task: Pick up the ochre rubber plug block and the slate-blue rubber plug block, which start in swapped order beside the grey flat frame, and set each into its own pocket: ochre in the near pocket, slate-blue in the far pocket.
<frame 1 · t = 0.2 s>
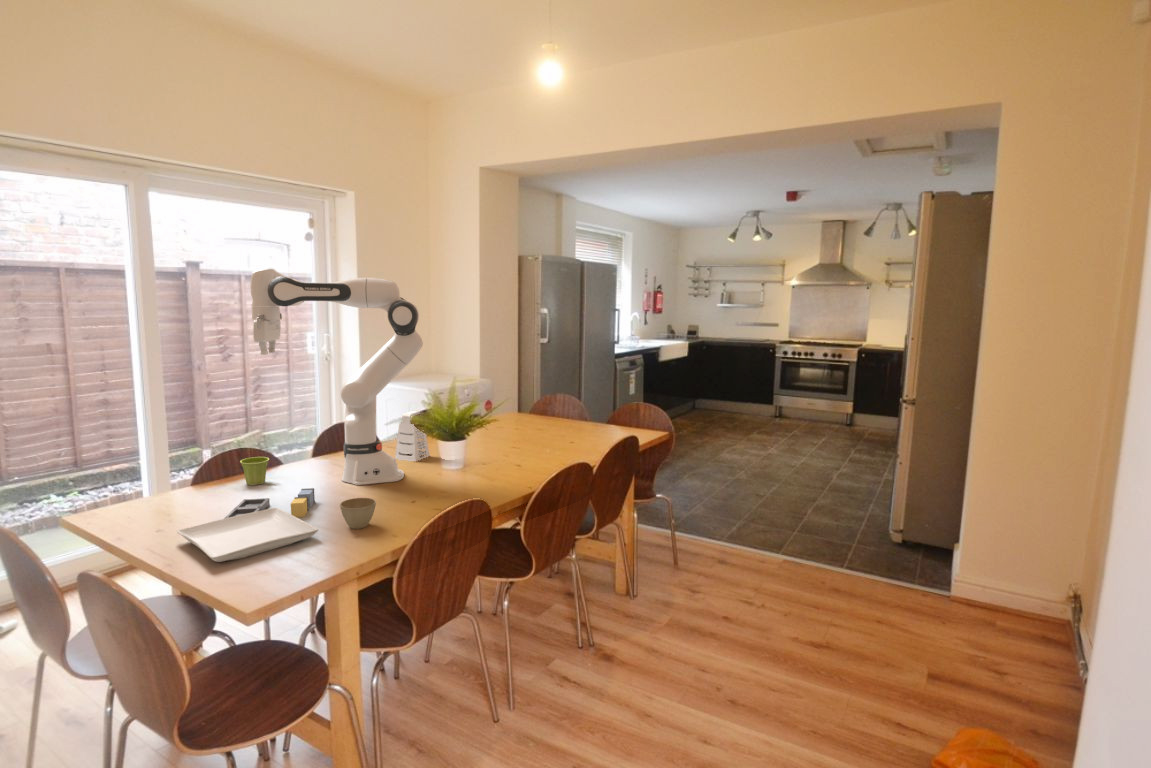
hand: (268, 353, 215), 48 cm above the table, fingers open, 8 cm apart
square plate: (248, 542, 166), on the table, touching grey flat frame
flower pot: (358, 526, 179), on the table
plant pot: (256, 483, 220), on the table
grey flat frame: (248, 514, 187), on the table
plug slate: (306, 504, 197), on the table
plug ochre: (299, 514, 188), on the table
grater: (412, 458, 260), on the table
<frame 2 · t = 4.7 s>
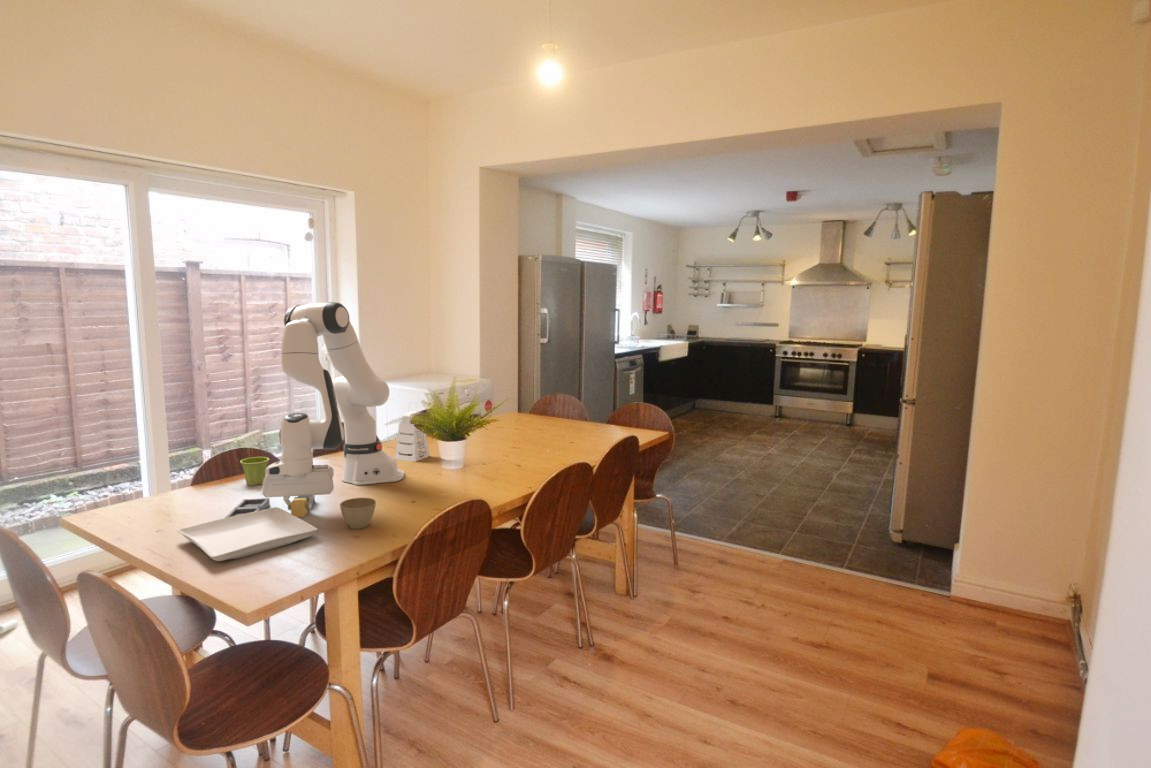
hand: (299, 508, 188), 2 cm above the table, fingers closed on plug ochre, 4 cm apart
plug ochre: (299, 513, 188), on the table, touching gripper
everything else where it was.
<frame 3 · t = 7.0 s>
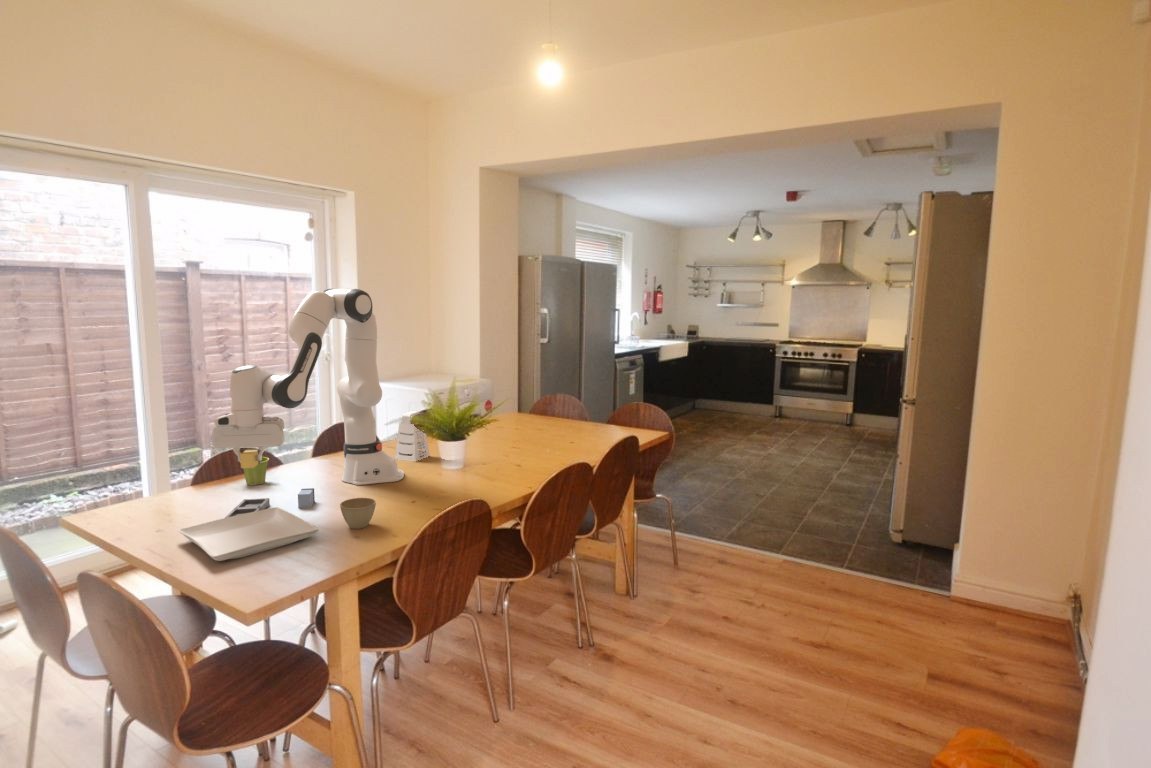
hand: (250, 460, 189), 16 cm above the table, fingers closed on plug ochre, 4 cm apart
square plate: (249, 541, 167), on the table
plug ochre: (250, 465, 189), point 14 cm above the table, touching gripper
everything else where it was.
when the fingers open (4 cm above the table, at t = 9.5 s): plug ochre drops 1 cm, resting on grey flat frame.
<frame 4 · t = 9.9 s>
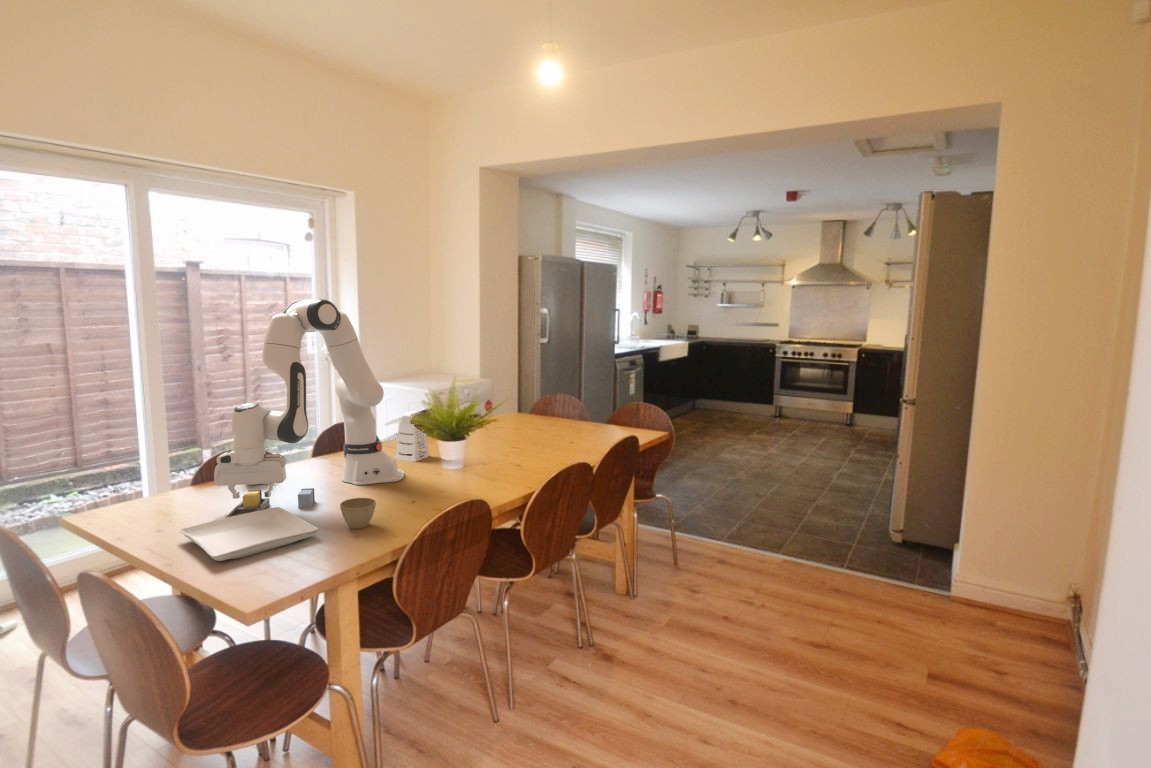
hand: (252, 497, 191), 4 cm above the table, fingers open, 8 cm apart
plug ochre: (252, 506, 191), point 1 cm above the table, touching grey flat frame
everything else where it was.
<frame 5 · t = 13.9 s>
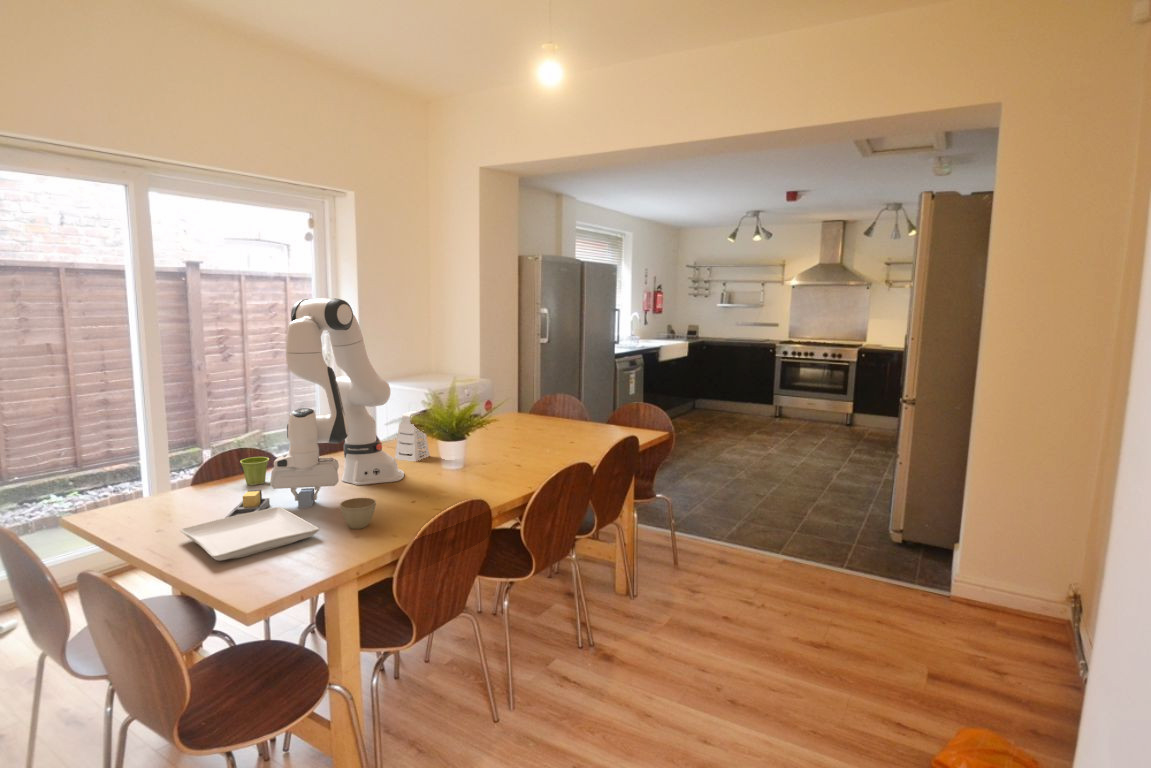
hand: (306, 499, 197), 2 cm above the table, fingers closed on plug slate, 4 cm apart
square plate: (250, 541, 167), on the table, touching grey flat frame
plug slate: (306, 504, 197), on the table, touching gripper
everything else where it was.
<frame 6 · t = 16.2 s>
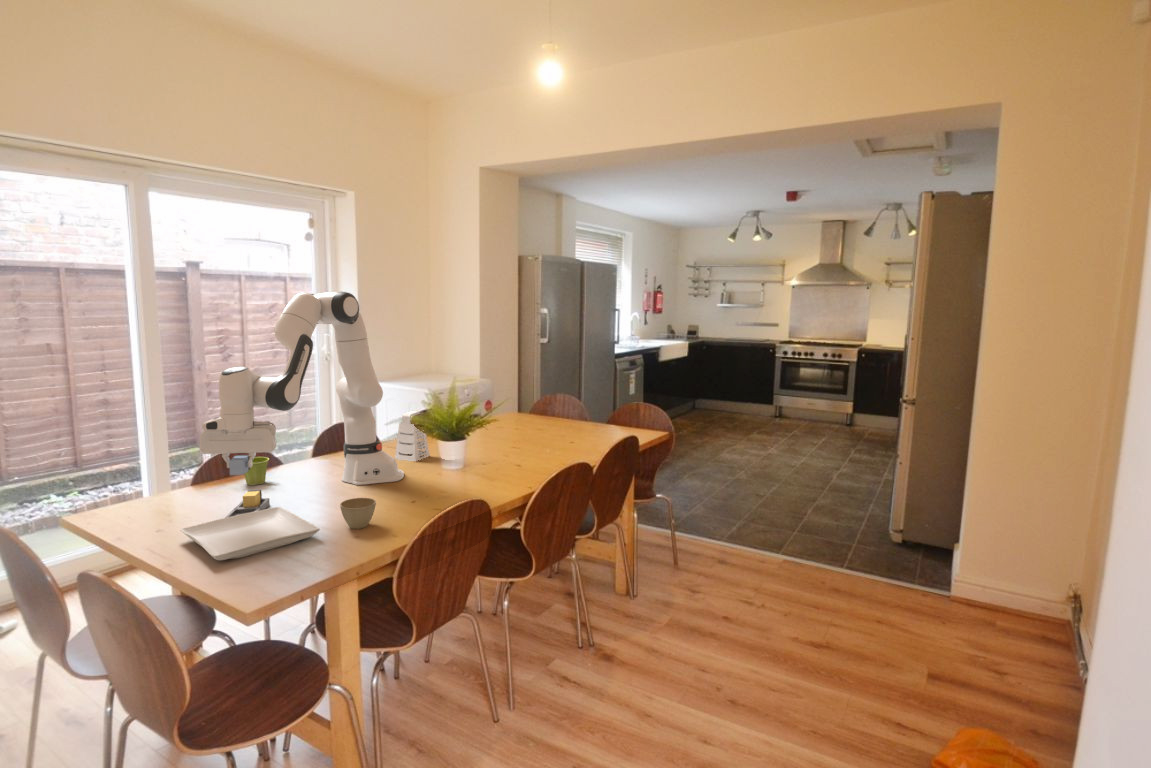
hand: (239, 467, 180), 16 cm above the table, fingers closed on plug slate, 4 cm apart
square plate: (251, 541, 167), on the table
plug slate: (239, 472, 180), point 15 cm above the table, touching gripper
everything else where it was.
when the fingers open (4 cm above the table, at t = 18.7 s): plug slate drops 2 cm, resting on grey flat frame.
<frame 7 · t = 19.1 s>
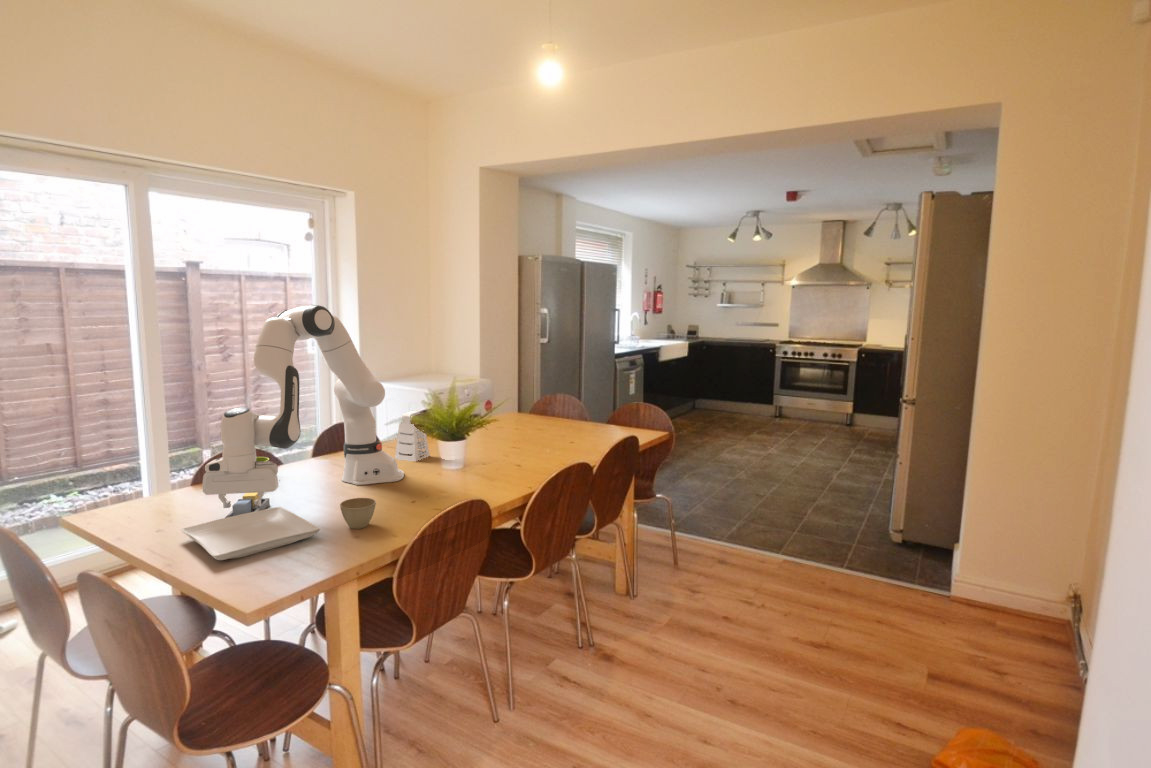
hand: (242, 506, 182), 4 cm above the table, fingers open, 7 cm apart
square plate: (251, 540, 167), on the table, touching grey flat frame
plug slate: (243, 516, 182), point 1 cm above the table, touching grey flat frame
everything else where it was.
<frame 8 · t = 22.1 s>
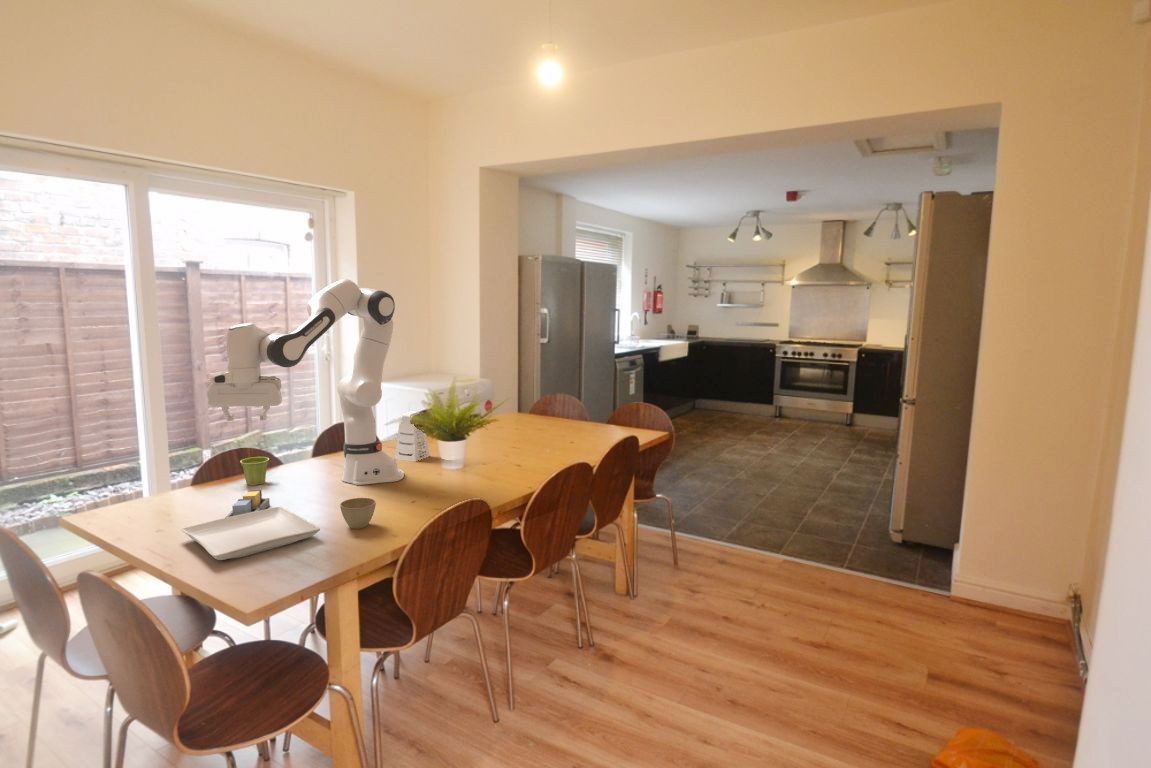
hand: (246, 420, 187), 29 cm above the table, fingers open, 8 cm apart
nothing on the table moved.
at the end: plug ochre 0.2 cm from the target spot on the grey flat frame, point 1.0 cm above the grey flat frame's base; plug slate 0.1 cm from the target spot on the grey flat frame, point 1.0 cm above the grey flat frame's base; the gripper is holding nothing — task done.
